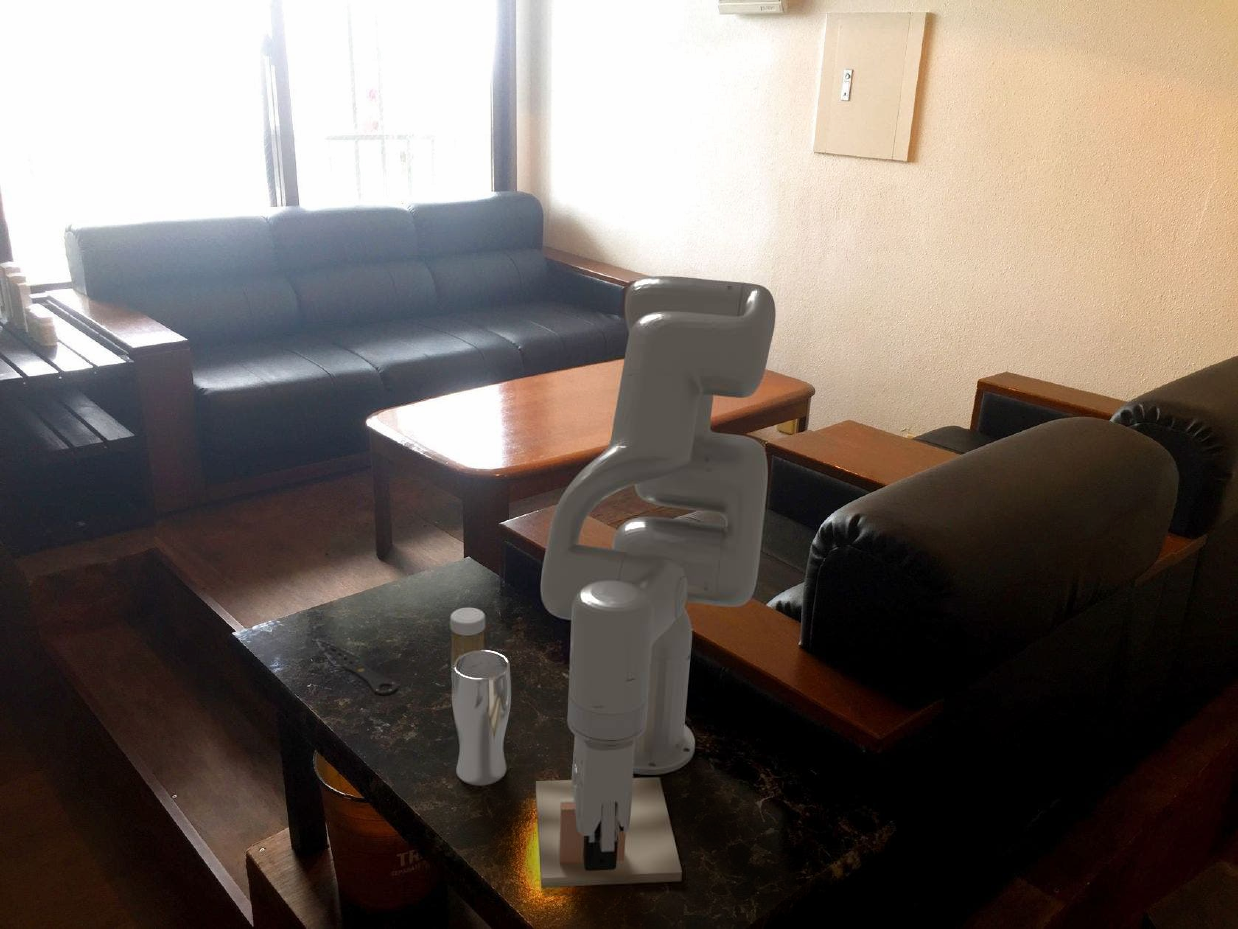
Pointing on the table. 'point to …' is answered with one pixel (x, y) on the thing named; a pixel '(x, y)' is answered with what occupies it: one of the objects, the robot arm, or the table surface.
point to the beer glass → (481, 714)
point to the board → (644, 842)
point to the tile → (577, 836)
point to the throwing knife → (356, 667)
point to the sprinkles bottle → (466, 633)
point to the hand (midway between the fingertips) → (599, 864)
